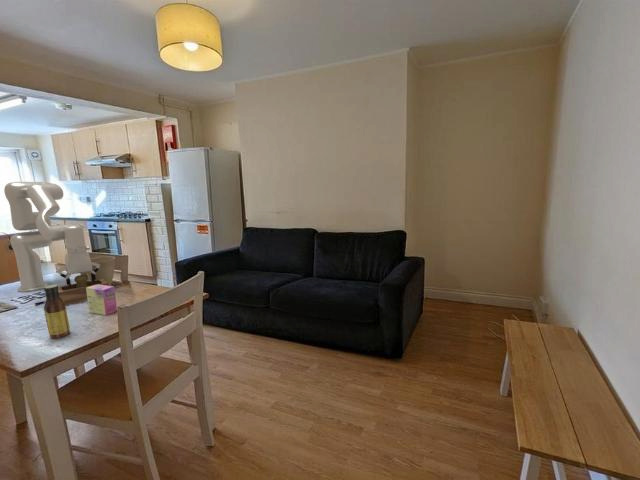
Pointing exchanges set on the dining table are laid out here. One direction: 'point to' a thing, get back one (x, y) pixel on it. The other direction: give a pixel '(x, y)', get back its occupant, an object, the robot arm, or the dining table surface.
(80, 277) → the olive brown gourd shape
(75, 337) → the dining table surface
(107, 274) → the plant pot
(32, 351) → the dining table surface
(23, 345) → the dining table surface
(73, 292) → the walnut well caddy
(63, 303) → the sauce bottle
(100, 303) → the box
